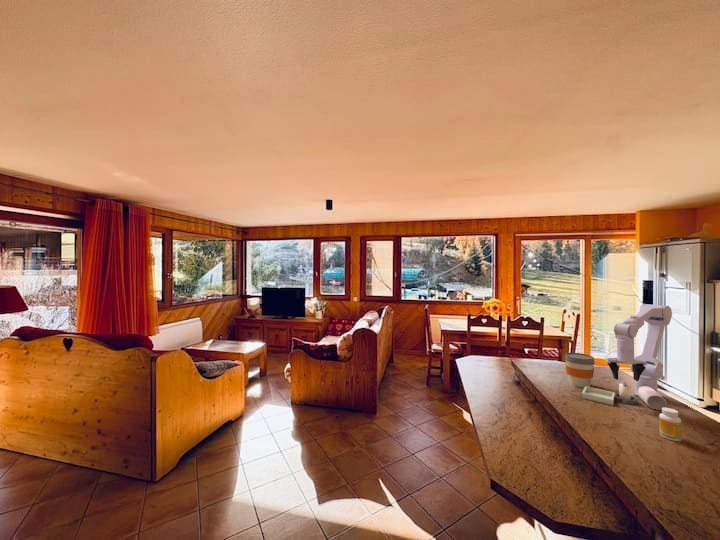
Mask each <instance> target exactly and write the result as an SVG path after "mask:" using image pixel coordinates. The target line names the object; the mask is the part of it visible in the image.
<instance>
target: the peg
mask: <svg viewBox="0 0 720 540" xmlns="http://www.w3.org/2000/svg"><path fill="white" fill-rule="evenodd" d="M627 383H628V382H623V383H618V384H619V385H618V393H619V398H622V399H626V400H631V396H632V386H631V385H629V384H627Z"/></svg>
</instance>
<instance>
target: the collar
mask: <svg viewBox="0 0 720 540" xmlns="http://www.w3.org/2000/svg"><path fill="white" fill-rule="evenodd" d="M614 401H615V402H618V403H620V404H621V403H622V404H625V405H631V406H636V405H638V404H639V399H638V398H637V397H635V396H632V395H631V400H626V399H622V398H619V392H615V400H614Z"/></svg>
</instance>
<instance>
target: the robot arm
mask: <svg viewBox="0 0 720 540" xmlns="http://www.w3.org/2000/svg"><path fill="white" fill-rule="evenodd" d="M672 311H673V310H672V308H671V307H670V306H669V305H659V304H646V303H642V304H641V305H640V307H639V311H638V313H636V315H630V316H629V317H627V318H626V319H625V320H624V321H623V322H618V323H616V324H615V325H614V326H613V327H614V328H613V332H614V334H615V335H614V337H615V339H616V347H617V348H616V353H617V357H605V363H606V364H607V365H608V366H609V369H610V372H611V373H612V376H613V379H614V380H615V381H616V380H617V381H618V380H619V369H620V365H621V364H625V365H630V370H631V372H632V373H633V380H634V381H635V390H634V396H636V397H639V395H638V392H637V390H638V388H639V387H641V386H647V387H650V388H652V389H654V390H655V391H656V392H657V393H658V380H660V379H661V378H663V376H664V375H663V374H664V365H663V363H662V362H661V361H660V360H659V359H658V358H657V357H658V353H659V350H660V346H661V343H662V340H663V339H662V338H663V334H664V331H665V328H666V326H669V325H670V323H671V320H672V317H673V312H672ZM645 323H647V324H649V327H648V332H647V335H646V339H645V342H644V346H643V349H642V354H640V355H636V356H635V338H636V337H637V335H638V332H639V330H640V329H641V328H642V327H643V326H644V325H645ZM619 364H620V365H619Z"/></svg>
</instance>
